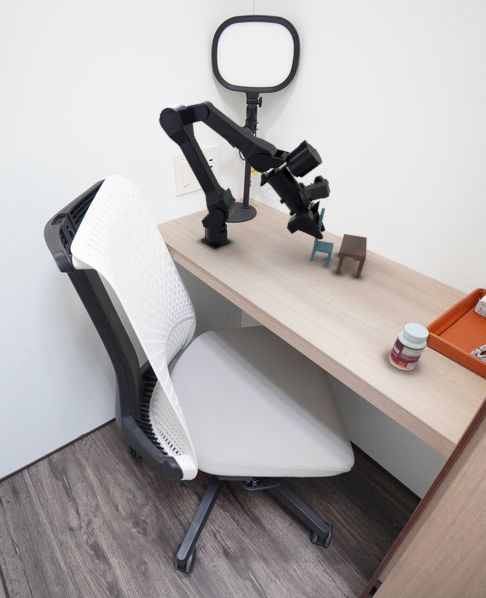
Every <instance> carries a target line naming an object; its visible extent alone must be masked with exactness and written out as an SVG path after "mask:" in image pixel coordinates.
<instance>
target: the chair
mask: <svg viewBox="0 0 486 598" xmlns="http://www.w3.org/2000/svg"><path fill="white" fill-rule="evenodd" d="M325 212H326V207H322V208H321V210H320V212H319V214H320V218H319V222H318V227H319V229H320V230H321V225H322V222H323V220H324V217H325ZM334 244H335V243H334V242H328V241H323V240H319V239H317V238H315V237H314V241H313V245H312V251H311V255H310V260H309V261H310V262H314V260H315V255H316V253H317V252H318V253H323V254H327V257H326V261H325V264H326V265H330V262H331V258H332V254H333V249H334Z"/></svg>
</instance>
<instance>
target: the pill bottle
mask: <svg viewBox="0 0 486 598" xmlns="http://www.w3.org/2000/svg"><path fill="white" fill-rule="evenodd" d="M429 335H430V332H429V330H428V329H427V327H425V326H423V325H422V324H420V323H416V322H408V323H406V324H405V325H404V327H403V329H402V330H401V331H400V332H399V333H398V335H397V337H396V339H395V341H394V344H393V345H392V348H391V351H390V353H389V356H388V361H389V362H390V364H391V365H393V366H394V367H395V368H397V369H399V370H402V371H412V370H413V369H415V367H416V366H417V364H418V362H419V360H420V359H421V356H422V354H423V352H424V350H425V349H426V347H427V343H428V341H427V339H428V337H429Z"/></svg>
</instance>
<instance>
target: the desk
mask: <svg viewBox="0 0 486 598" xmlns="http://www.w3.org/2000/svg"><path fill="white" fill-rule="evenodd" d="M367 243H368V238H367V237H366V236H360V235H354V234H348V233H347V234H346V233H344V234H343V236H342V240H341V244H340V247H339V252H338V257H339V259H338V262H337V266H336V270H335V275H340V274H341V270H342V267H343V263H344V260H345V257H346V258H351V259H356V260H359V263H358V267H357V269H356V272H355V279H356V278H357V279H360V277H361V274H362V272H363V268H364V265H365V261H366V258H367V245H368V244H367Z"/></svg>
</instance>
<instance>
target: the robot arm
mask: <svg viewBox="0 0 486 598" xmlns="http://www.w3.org/2000/svg"><path fill="white" fill-rule="evenodd" d="M158 122H159V125H160V127H161V129H162V130H163V132H164V133H165V134H166V136H167V137H168V138H169V139H170V140H171V141H173V142H174V143H175V145H177V146H178V147H179V149H180V150H181V152H182V155H183V157H184V158H185V160H186V162H187V164H188V165H189V168H190V169H191V171H192V173H193V175H194V177H195V178H196V180H197V182H198V185H199V186H200V188H201V190H202V191H203V194H204V196H205V205H206V208H207V212H208V213H207V214H206V215H205V216H204V217H203V218H202V220H201V225H202V227H203V228H204V237H203V238H201V239H200V242H201V243H203V244H205V245H207V246H209V247H211V248H213V249H219V248H220V247H223V246H224V245H227V244H229V243H231V240H230V239H229V238H228V224H227V223H226V222H227V221H228V220H229V219H230V218H231V216H232V215H233V214H234V212H235V210H236V208H237V204H236V201H237V199H236V198H235V197H234V196H233V192H232V190H231V188H230V187H228V188H226V189H225V188H223V187H222V186H221V185H220V183H219V181H218V179H217V178H216V176H215V175H216V174H214V172H213V169H212V168H211V166H210V164H209V161H208V160H207V158H206V156H205V153H204V152H203V150H202V148H201V146H200V144H199V142H198V141H197V139H196V136H195V128H194V124H195V123H199V122H201V123H203V124H204V125H206V126H207V127H208V128H210V129H211V130H213V132H215V133H216V134H218V135H219V136H220V137H221V138H223V139H224V140H225V141H226V142H228V143H229V144H230V145H232V146H233V147H234V148H235V149H237V150H238V151H239V152H240V154H241V155H242V157H243V159H244V160H245V161H246V162H247V164H249V166H250V167H251V168H252V169H253V170H254V171H256V173H261V174H260V183H259V186H260V187H264V186H265V185H266V184H269V186H270V187H271V188H272V189H273V191H274V192H275V194H276V195H277V196H278V197H279V198H280V200H279V203H280V204H281V205H283V204H284V206H286V207H287V209H288V210H289V213H288V214H289V216H290V218H289V220H288V222H287V225H286V229H287V230H288V232H289V233H290V235H293V234H295V233H296V232H298V231H299V232H302V233H303V234H306V235H309V236H311V237H313V238H314V239H315V238H317V239H318V241H322V240H323V239H324V235H323V233H324V232H326V227H325V224H324V222H323V221H322V225H321V230H320V229H319V227H318V222H319V218H320V212H319V211H320V210H319V208H320V203H321V200H320V199H322V200H324V199H327V198H329V197H330V193H331V190H330V189H331V188H330V182H329V180H328V179H327V178H324V177H323V176H322V175H321V174H320V175H317V176H316V175H315V177H314V179H313V182H311V183H309V184H308V185H305V183H304V182H302V181H300V182H299V181H298V180H297V179H296V178H301V179H303V178H304V177H305V176H306V175H308V174H309V173H311V172H312V171H314V170H315V169H317V168H318V167H319V166H321V164H323V159H322V157H321V155H320V152H319V151H318V150H317V148H315V147H313V146H312V145H311V143H309V142H308V141H307V139H303V141H301V142H300V143H299V145H298V146H296V147H295V148H294V149H293V150H291V151H286V150H284V149H280V148H277V147H276V145H274V144H273V143H271V142H269V141H267V140H265V139H263V138H260V137H257V136H255V135H252V134H251V133H249V132H248V131H246V130H245V129H244V128H243V127H242V126H240V125H239V124H238V123H237V122H235V121H234V120H233V119H231V118H230V117H229V116H227V115H226V114H225V113H224V112H223V111H221V110H220V109H219V108H217V107H216V106H215V105H214V104H213V103H212V102H211V101H208V100H204V101H202V102H200V103H194V104H190V105H184V104H181V103H175V104H173V105H170V106H167V107H165V108H163V109H162V110H161V111H160V113H159V118H158ZM317 200H318V201H317ZM314 201H316V202H314Z"/></svg>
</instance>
